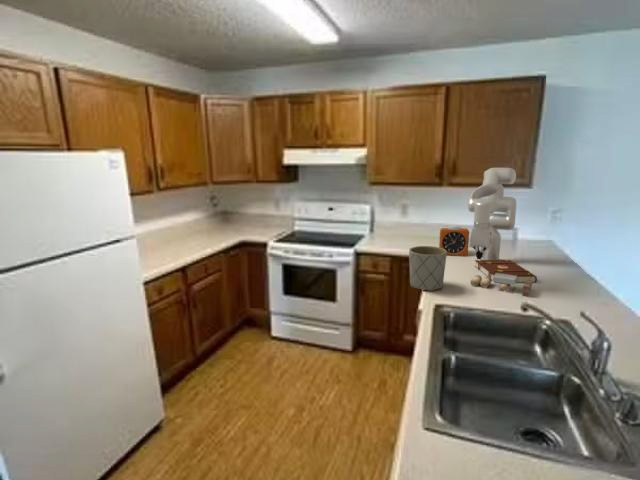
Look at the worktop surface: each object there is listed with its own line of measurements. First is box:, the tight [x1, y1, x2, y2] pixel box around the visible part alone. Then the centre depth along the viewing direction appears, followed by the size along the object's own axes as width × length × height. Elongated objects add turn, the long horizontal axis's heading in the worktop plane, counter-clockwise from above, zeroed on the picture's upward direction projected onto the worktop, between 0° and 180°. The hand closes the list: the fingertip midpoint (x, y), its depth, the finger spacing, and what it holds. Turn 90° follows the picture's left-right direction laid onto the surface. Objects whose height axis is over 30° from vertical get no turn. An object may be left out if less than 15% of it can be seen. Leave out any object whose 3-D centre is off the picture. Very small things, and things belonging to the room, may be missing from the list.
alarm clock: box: [438, 225, 470, 257], centre depth 262 cm, size 18×9×21 cm, turn 76°
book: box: [474, 259, 538, 284], centre depth 221 cm, size 23×32×5 cm
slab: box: [492, 273, 517, 286], centre depth 196 cm, size 8×10×2 cm
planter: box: [408, 245, 447, 292], centre depth 202 cm, size 19×19×20 cm
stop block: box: [522, 280, 533, 298], centre depth 191 cm, size 12×2×5 cm, turn 145°
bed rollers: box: [470, 274, 517, 294], centre depth 200 cm, size 9×21×4 cm, turn 55°
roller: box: [499, 283, 512, 293], centre depth 197 cm, size 8×4×4 cm, turn 145°
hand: (479, 258), depth 203 cm, fingers closed
